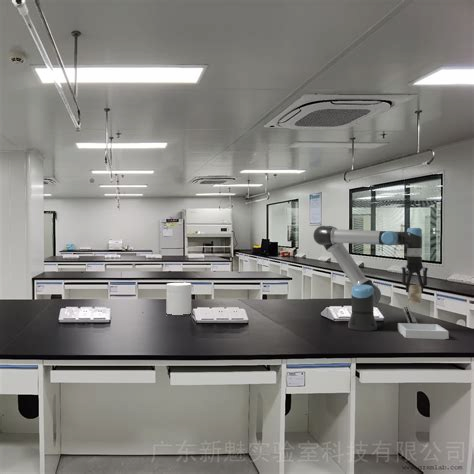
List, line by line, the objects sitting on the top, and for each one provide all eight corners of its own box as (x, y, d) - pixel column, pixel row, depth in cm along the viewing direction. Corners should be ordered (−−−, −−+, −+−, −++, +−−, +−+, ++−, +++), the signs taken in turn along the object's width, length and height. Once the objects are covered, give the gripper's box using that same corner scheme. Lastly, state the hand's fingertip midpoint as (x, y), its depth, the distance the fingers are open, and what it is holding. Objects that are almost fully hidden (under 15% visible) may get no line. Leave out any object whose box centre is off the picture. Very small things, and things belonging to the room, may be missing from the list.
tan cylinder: (410, 302, 233) (411, 285, 233) (408, 301, 238) (408, 284, 238) (420, 302, 232) (420, 285, 232) (417, 301, 237) (417, 284, 237)
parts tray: (405, 338, 213) (405, 330, 213) (397, 330, 231) (397, 323, 231) (448, 339, 210) (448, 331, 210) (437, 331, 228) (437, 324, 228)
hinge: (417, 324, 248) (411, 307, 250) (409, 326, 250) (403, 309, 251) (415, 319, 264) (409, 303, 265) (407, 321, 266) (401, 305, 267)
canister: (161, 315, 276) (161, 284, 276) (177, 311, 289) (177, 282, 290) (180, 317, 267) (180, 285, 268) (196, 314, 281) (196, 283, 281)
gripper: (399, 256, 233) (399, 299, 232) (434, 256, 230) (434, 299, 230) (395, 255, 240) (395, 297, 240) (429, 255, 238) (429, 297, 238)
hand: (414, 298), depth 235 cm, fingers closed on tan cylinder, 5 cm apart
